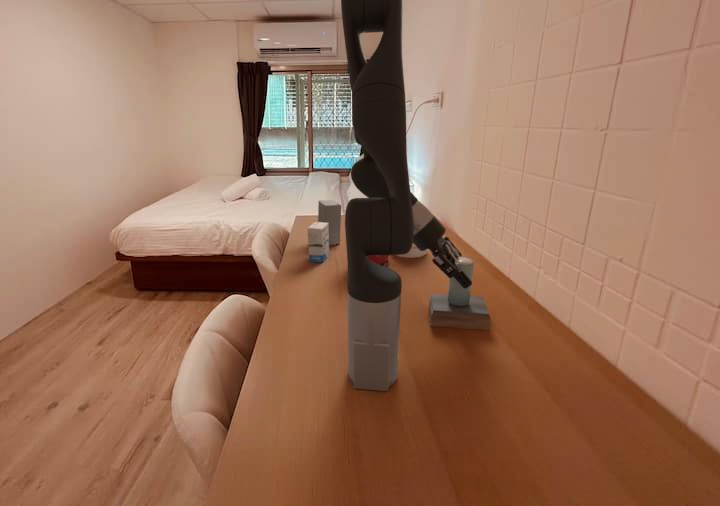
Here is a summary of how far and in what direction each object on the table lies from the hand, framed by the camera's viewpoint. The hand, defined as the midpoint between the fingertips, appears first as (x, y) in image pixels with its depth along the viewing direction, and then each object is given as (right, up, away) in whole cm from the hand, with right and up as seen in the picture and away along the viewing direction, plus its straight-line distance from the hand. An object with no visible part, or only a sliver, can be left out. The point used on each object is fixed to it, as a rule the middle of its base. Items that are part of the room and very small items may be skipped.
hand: (469, 280), depth 85 cm
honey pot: (-8, +7, +48) cm, 49 cm away
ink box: (-39, +4, +42) cm, 57 cm away
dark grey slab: (-2, -9, +4) cm, 10 cm away
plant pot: (-22, +1, +34) cm, 40 cm away
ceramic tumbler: (-2, -5, +2) cm, 6 cm away
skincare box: (-37, +10, +58) cm, 69 cm away
